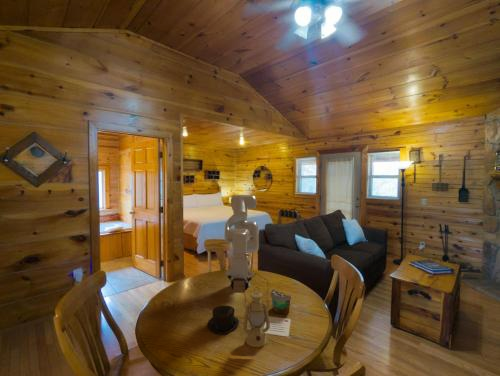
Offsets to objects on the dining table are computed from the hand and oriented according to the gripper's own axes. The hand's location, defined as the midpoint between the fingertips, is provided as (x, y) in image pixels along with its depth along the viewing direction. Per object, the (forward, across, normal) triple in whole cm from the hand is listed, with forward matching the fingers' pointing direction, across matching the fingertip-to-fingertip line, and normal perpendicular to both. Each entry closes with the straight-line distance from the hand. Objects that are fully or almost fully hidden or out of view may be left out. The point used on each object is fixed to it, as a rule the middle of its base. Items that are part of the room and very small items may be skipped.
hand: (239, 288), depth 130 cm
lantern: (+13, -13, +20) cm, 28 cm away
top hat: (+14, +5, +12) cm, 19 cm away
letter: (+13, -21, +8) cm, 26 cm away
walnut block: (+1, 0, 0) cm, 1 cm away
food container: (+13, -20, -5) cm, 24 cm away
